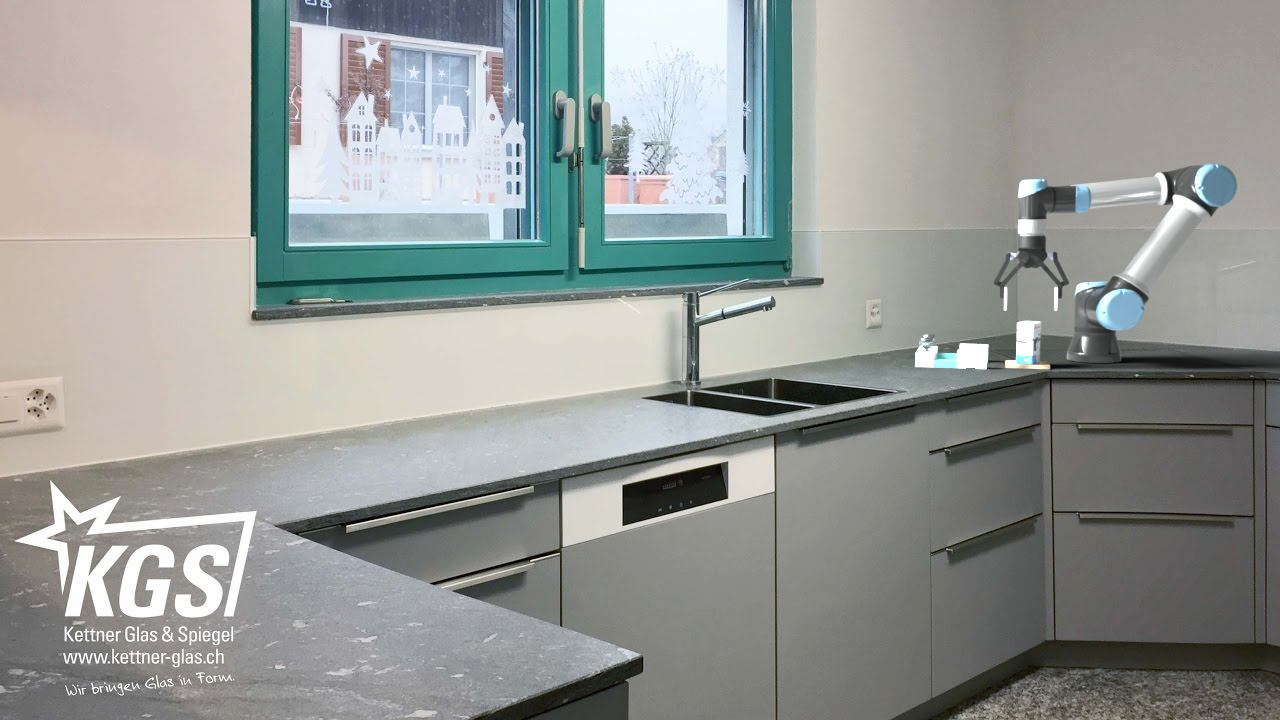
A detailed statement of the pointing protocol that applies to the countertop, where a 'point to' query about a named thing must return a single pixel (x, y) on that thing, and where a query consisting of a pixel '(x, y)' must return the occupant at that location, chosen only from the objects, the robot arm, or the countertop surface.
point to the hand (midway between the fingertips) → (1030, 310)
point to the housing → (954, 357)
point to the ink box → (1028, 342)
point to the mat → (1035, 366)
